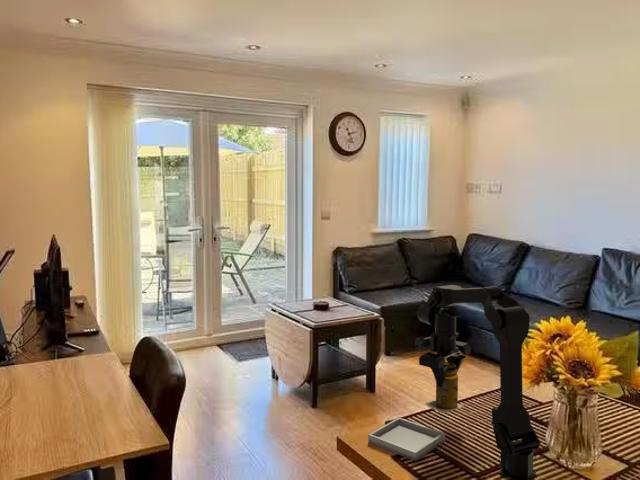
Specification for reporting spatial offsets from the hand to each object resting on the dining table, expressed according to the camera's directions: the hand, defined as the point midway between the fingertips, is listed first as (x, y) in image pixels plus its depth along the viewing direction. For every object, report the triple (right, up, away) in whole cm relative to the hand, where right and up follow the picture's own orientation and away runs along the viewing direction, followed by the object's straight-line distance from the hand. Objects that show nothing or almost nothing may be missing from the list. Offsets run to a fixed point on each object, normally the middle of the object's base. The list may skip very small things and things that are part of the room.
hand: (445, 383), depth 153 cm
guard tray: (-12, -14, -7) cm, 20 cm away
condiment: (0, -7, 0) cm, 7 cm away
